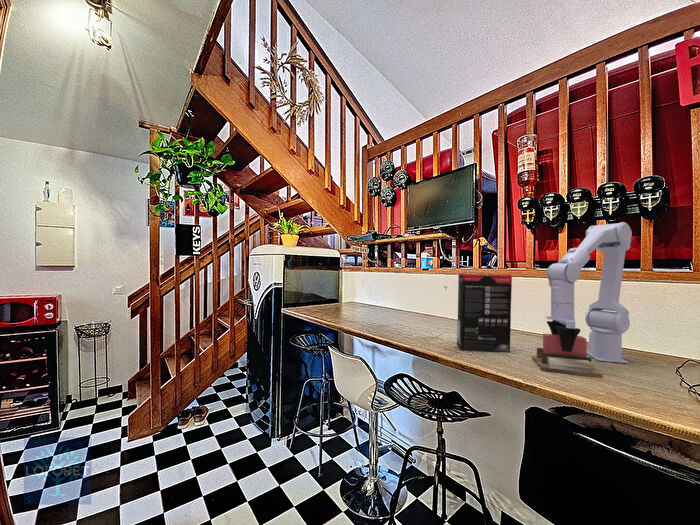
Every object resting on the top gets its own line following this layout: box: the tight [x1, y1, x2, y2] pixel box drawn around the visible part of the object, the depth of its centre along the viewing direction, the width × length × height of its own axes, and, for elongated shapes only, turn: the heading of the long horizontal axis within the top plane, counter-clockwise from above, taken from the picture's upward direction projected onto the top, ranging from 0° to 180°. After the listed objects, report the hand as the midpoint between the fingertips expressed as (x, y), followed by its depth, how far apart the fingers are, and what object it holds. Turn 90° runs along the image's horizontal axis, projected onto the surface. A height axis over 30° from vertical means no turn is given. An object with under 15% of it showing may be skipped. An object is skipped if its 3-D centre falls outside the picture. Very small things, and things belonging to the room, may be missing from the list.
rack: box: [531, 347, 604, 379], centre depth 87 cm, size 12×14×4 cm
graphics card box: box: [456, 273, 513, 353], centre depth 106 cm, size 17×7×27 cm, turn 84°
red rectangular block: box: [542, 333, 588, 357], centre depth 89 cm, size 4×10×8 cm, turn 70°
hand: (562, 347), depth 89 cm, fingers open, 7 cm apart
